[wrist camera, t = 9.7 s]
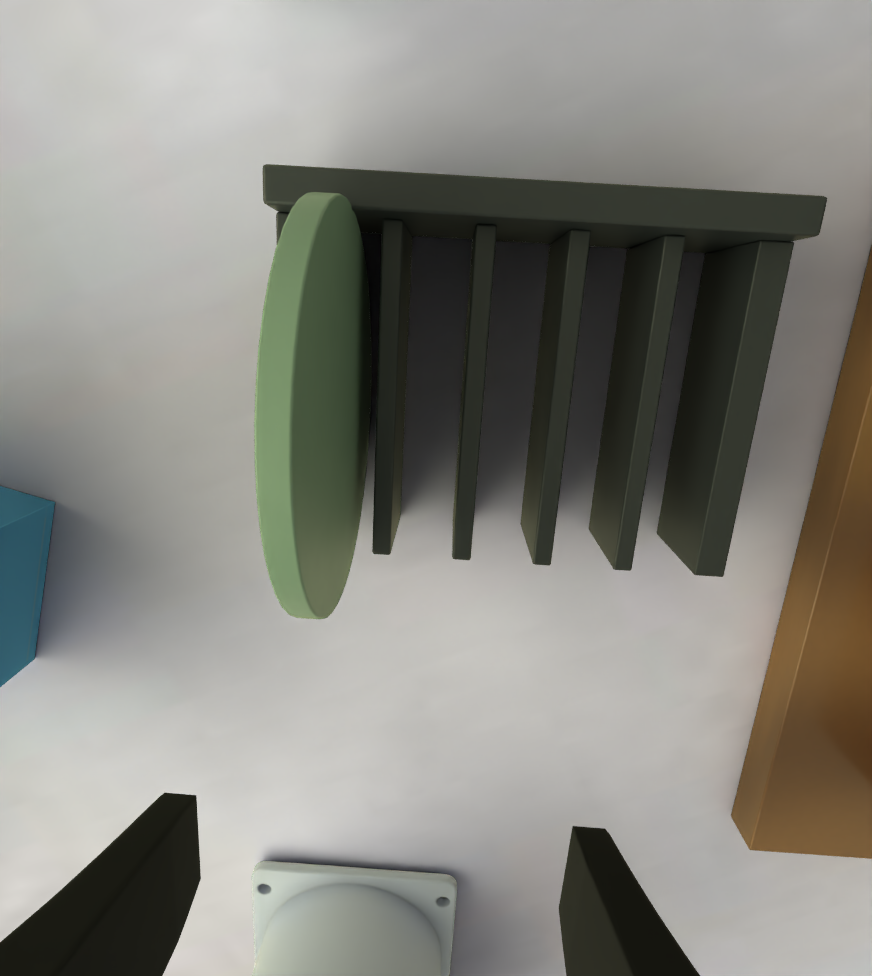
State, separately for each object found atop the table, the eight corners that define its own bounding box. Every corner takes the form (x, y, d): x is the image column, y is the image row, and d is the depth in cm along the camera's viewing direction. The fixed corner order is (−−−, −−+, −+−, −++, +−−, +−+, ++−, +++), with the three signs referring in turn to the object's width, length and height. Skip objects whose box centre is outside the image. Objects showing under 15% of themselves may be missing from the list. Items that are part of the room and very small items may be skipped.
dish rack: (677, 551, 19) (868, 754, 10) (308, 527, 20) (186, 706, 11) (738, 224, 17) (1068, 120, 8) (308, 199, 17) (140, 68, 8)
